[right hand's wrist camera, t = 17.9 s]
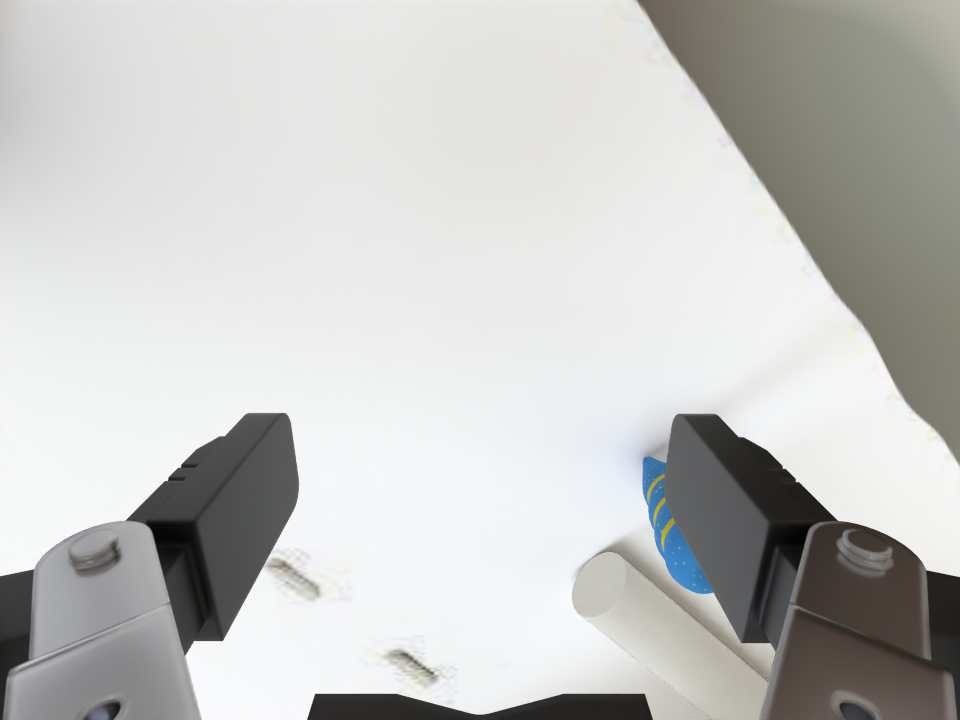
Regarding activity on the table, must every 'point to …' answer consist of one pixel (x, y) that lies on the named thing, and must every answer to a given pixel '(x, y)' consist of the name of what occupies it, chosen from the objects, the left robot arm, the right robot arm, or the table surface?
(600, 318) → the table surface
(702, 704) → the cylinder
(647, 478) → the ornament
